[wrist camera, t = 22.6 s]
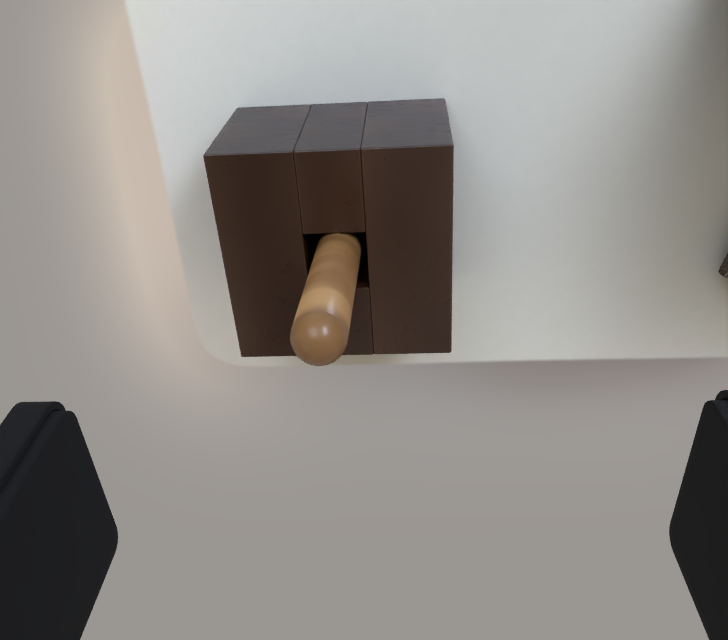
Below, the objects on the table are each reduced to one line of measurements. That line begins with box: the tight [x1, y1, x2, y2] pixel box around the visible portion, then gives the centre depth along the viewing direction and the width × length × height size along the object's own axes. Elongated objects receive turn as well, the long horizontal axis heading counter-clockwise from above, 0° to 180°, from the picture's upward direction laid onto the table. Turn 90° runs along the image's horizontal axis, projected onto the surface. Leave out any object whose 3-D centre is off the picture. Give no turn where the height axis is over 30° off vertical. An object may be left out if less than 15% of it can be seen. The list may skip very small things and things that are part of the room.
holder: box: [203, 98, 454, 357], centre depth 34 cm, size 10×10×7 cm
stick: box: [290, 232, 364, 366], centre depth 30 cm, size 2×2×16 cm
